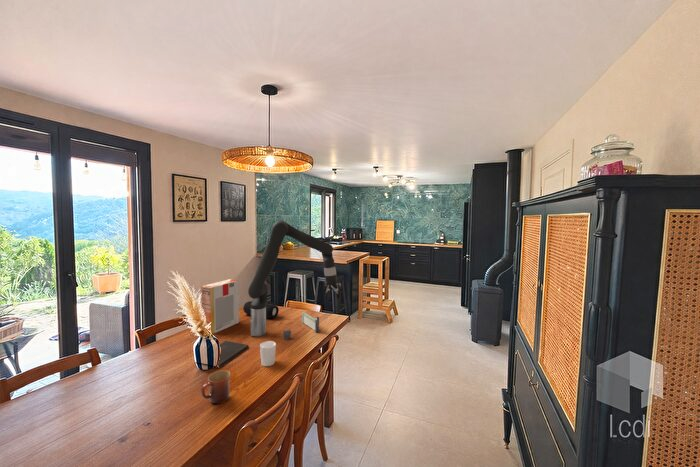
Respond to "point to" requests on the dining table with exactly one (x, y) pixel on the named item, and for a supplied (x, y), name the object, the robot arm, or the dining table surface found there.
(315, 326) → the hinge post
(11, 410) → the dining table surface
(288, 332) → the latch block
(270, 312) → the portable speaker
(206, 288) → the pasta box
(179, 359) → the dining table surface
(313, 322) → the gate
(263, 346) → the white cup
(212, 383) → the mug
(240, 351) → the hardcover book
